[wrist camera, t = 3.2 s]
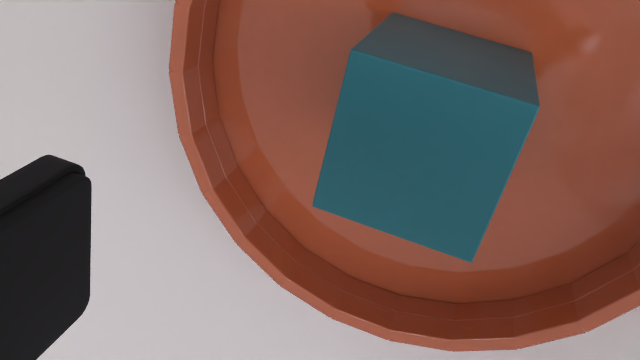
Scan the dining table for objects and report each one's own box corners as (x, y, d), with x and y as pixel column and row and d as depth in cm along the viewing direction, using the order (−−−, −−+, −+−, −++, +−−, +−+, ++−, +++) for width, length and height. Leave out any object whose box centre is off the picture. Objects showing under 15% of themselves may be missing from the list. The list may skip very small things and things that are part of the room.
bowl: (901, -132, 15) (982, -140, 13) (585, 366, 24) (595, 421, 22) (244, -273, 18) (200, -303, 16) (186, 217, 27) (152, 250, 25)
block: (533, 52, 19) (541, 106, 14) (481, 178, 22) (472, 263, 16) (391, 11, 20) (350, 48, 15) (357, 137, 22) (311, 207, 17)
